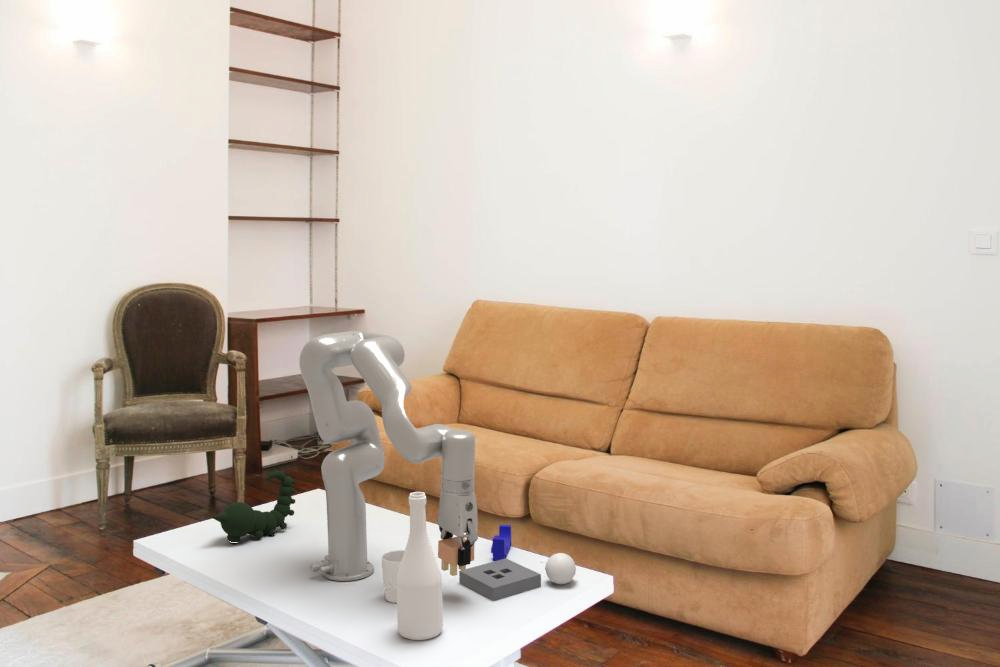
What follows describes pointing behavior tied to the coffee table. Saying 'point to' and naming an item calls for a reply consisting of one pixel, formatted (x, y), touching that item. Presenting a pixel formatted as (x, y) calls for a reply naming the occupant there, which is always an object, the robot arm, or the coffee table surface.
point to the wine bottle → (419, 580)
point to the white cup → (391, 573)
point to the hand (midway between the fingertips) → (455, 559)
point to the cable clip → (501, 543)
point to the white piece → (560, 568)
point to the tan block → (451, 554)
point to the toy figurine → (258, 513)
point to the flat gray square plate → (500, 579)
